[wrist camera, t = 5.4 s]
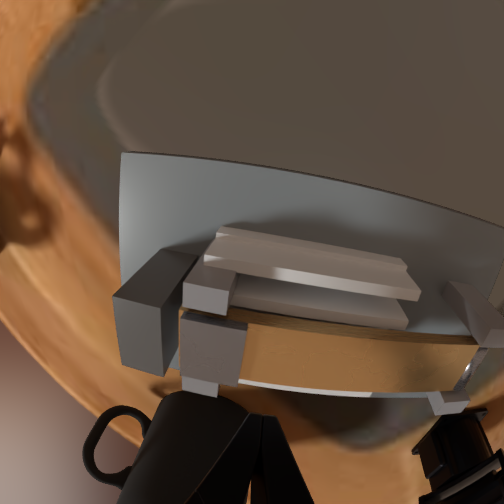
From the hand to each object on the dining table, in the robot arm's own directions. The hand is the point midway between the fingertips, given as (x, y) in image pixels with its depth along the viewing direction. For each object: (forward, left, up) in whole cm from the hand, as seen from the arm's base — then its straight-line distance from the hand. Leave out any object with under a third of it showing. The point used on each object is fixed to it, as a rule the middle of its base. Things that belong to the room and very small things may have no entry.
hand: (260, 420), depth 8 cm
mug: (+5, +13, -9) cm, 16 cm away
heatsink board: (-2, 0, -9) cm, 9 cm away
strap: (-4, 0, -4) cm, 6 cm away
